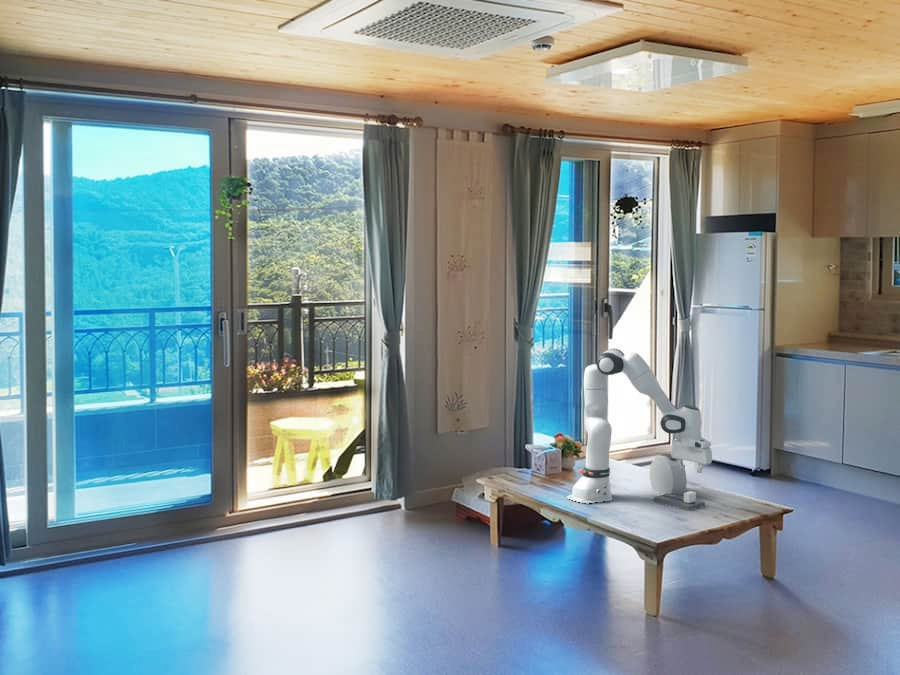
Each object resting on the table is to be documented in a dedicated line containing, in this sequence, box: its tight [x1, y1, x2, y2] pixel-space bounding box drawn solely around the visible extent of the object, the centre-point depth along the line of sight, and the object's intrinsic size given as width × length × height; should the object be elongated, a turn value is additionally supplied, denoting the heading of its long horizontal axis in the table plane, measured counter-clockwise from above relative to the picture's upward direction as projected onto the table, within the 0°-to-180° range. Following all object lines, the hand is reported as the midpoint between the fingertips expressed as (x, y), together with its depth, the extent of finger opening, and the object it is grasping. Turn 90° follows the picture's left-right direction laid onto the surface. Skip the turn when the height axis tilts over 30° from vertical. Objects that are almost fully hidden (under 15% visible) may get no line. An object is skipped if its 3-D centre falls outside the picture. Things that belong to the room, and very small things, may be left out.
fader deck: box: [652, 493, 706, 511], centre depth 406 cm, size 12×20×2 cm, turn 38°
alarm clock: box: [649, 452, 688, 496], centre depth 424 cm, size 21×8×20 cm, turn 18°
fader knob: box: [683, 490, 697, 503], centre depth 401 cm, size 5×3×5 cm, turn 128°
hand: (691, 470), depth 400 cm, fingers open, 8 cm apart
